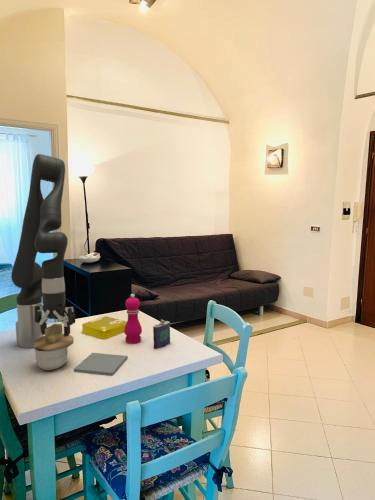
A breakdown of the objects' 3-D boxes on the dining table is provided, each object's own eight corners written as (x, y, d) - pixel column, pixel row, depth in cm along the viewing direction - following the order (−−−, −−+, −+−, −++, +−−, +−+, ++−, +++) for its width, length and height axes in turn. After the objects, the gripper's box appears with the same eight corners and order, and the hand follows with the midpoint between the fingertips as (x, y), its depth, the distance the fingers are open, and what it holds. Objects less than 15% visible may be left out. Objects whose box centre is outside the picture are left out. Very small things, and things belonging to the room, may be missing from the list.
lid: (26, 348, 126) (25, 331, 125) (47, 335, 139) (47, 319, 138) (61, 351, 123) (60, 334, 123) (80, 338, 136) (79, 322, 135)
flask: (166, 341, 155) (166, 316, 153) (172, 342, 153) (172, 317, 151) (151, 348, 147) (151, 322, 146) (157, 350, 146) (157, 323, 144)
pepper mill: (121, 342, 153) (120, 295, 150) (130, 336, 159) (129, 291, 157) (136, 345, 150) (135, 296, 147) (145, 339, 157) (144, 292, 154)
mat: (73, 371, 127) (73, 368, 126) (92, 355, 140) (92, 352, 140) (112, 375, 124) (112, 372, 124) (127, 358, 137) (127, 355, 137)
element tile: (105, 324, 176) (105, 314, 176) (129, 330, 168) (128, 320, 167) (80, 333, 164) (80, 323, 163) (104, 341, 156) (104, 329, 155)
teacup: (48, 376, 123) (47, 353, 122) (28, 368, 129) (27, 346, 128) (81, 361, 135) (80, 339, 134) (61, 354, 141) (60, 334, 140)
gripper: (28, 291, 127) (30, 337, 129) (66, 293, 124) (68, 340, 126) (41, 286, 134) (43, 330, 136) (77, 288, 131) (79, 332, 133)
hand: (55, 335), depth 131 cm, fingers open, 8 cm apart
